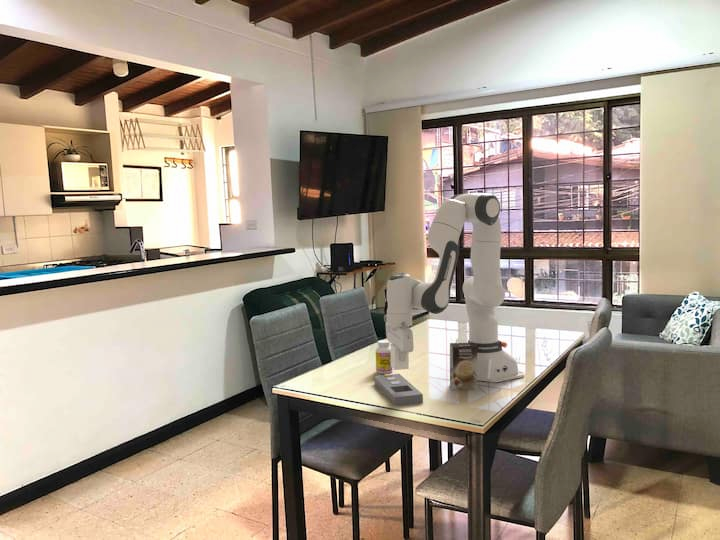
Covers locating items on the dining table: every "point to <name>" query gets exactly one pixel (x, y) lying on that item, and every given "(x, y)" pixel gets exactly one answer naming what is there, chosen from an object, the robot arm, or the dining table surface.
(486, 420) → the dining table surface
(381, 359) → the supplement bottle
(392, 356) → the block
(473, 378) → the coffee box
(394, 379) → the power strip
